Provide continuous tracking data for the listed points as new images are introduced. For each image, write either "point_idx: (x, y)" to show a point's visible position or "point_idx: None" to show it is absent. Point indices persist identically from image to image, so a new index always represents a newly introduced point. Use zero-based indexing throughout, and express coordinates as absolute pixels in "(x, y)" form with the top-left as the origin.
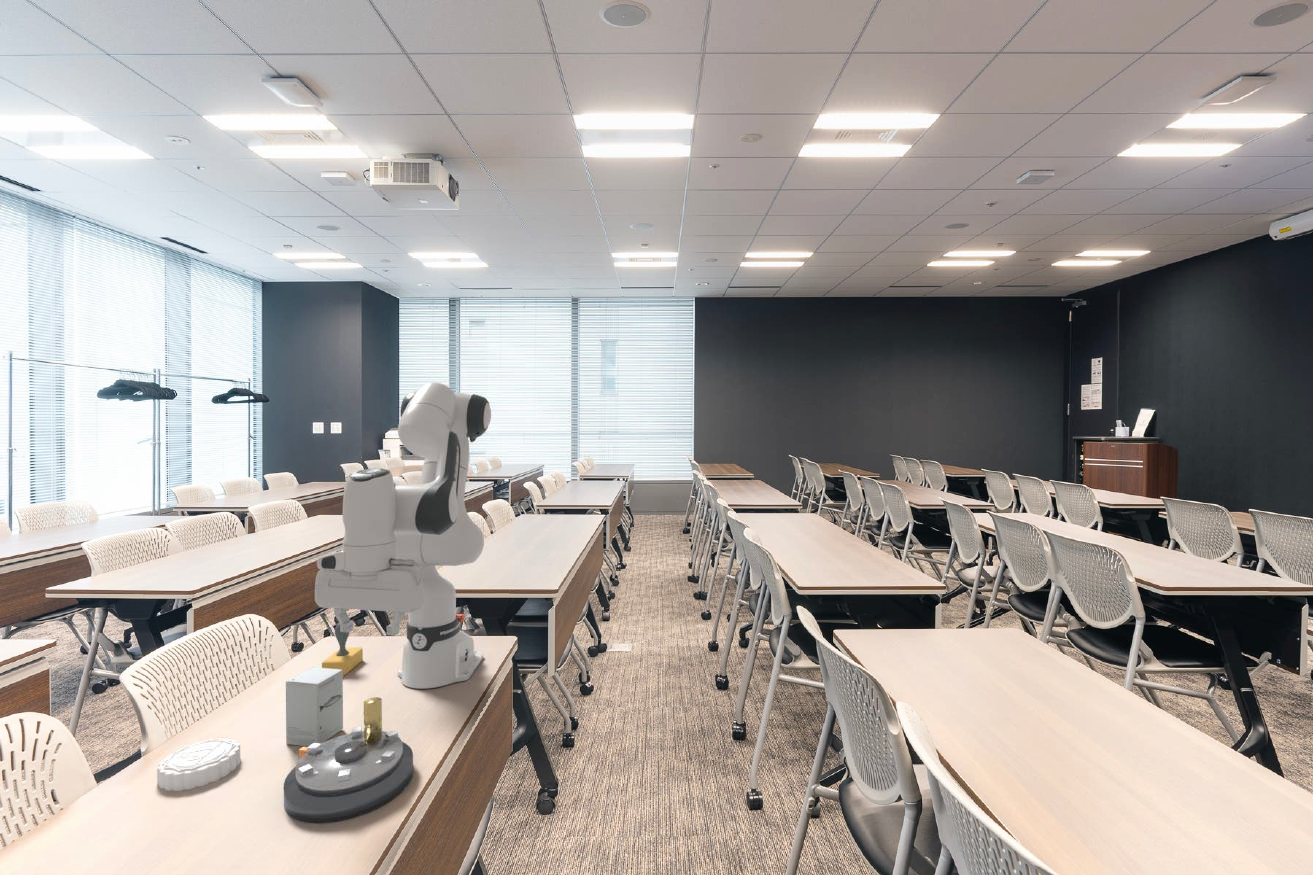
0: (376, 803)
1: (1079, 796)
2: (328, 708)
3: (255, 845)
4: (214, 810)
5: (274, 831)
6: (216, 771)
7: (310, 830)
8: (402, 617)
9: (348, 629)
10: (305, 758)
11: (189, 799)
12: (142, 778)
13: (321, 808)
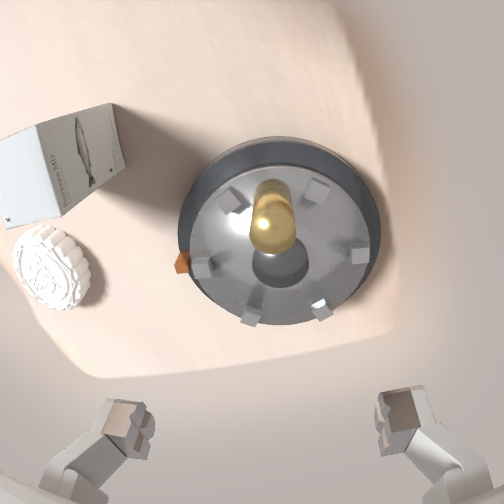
0: None
1: None
2: (91, 157)
3: (261, 340)
4: (154, 313)
5: (260, 323)
6: (86, 281)
7: None
8: (466, 453)
9: (149, 427)
10: (209, 284)
11: (107, 305)
12: None
13: None
